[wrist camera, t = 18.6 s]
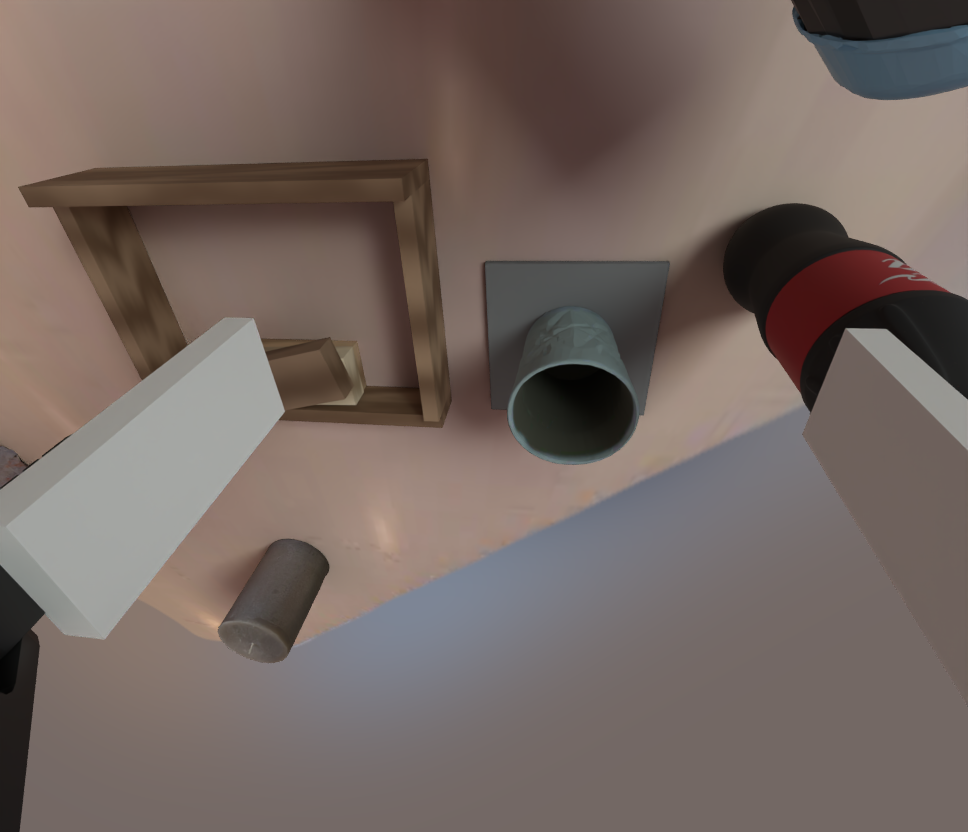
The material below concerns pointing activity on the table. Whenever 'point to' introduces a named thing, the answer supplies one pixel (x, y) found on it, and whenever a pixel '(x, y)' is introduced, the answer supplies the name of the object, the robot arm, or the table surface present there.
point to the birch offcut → (352, 369)
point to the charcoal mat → (588, 284)
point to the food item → (9, 465)
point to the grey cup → (572, 390)
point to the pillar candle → (275, 602)
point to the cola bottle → (837, 296)
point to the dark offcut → (309, 374)
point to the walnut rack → (124, 260)
